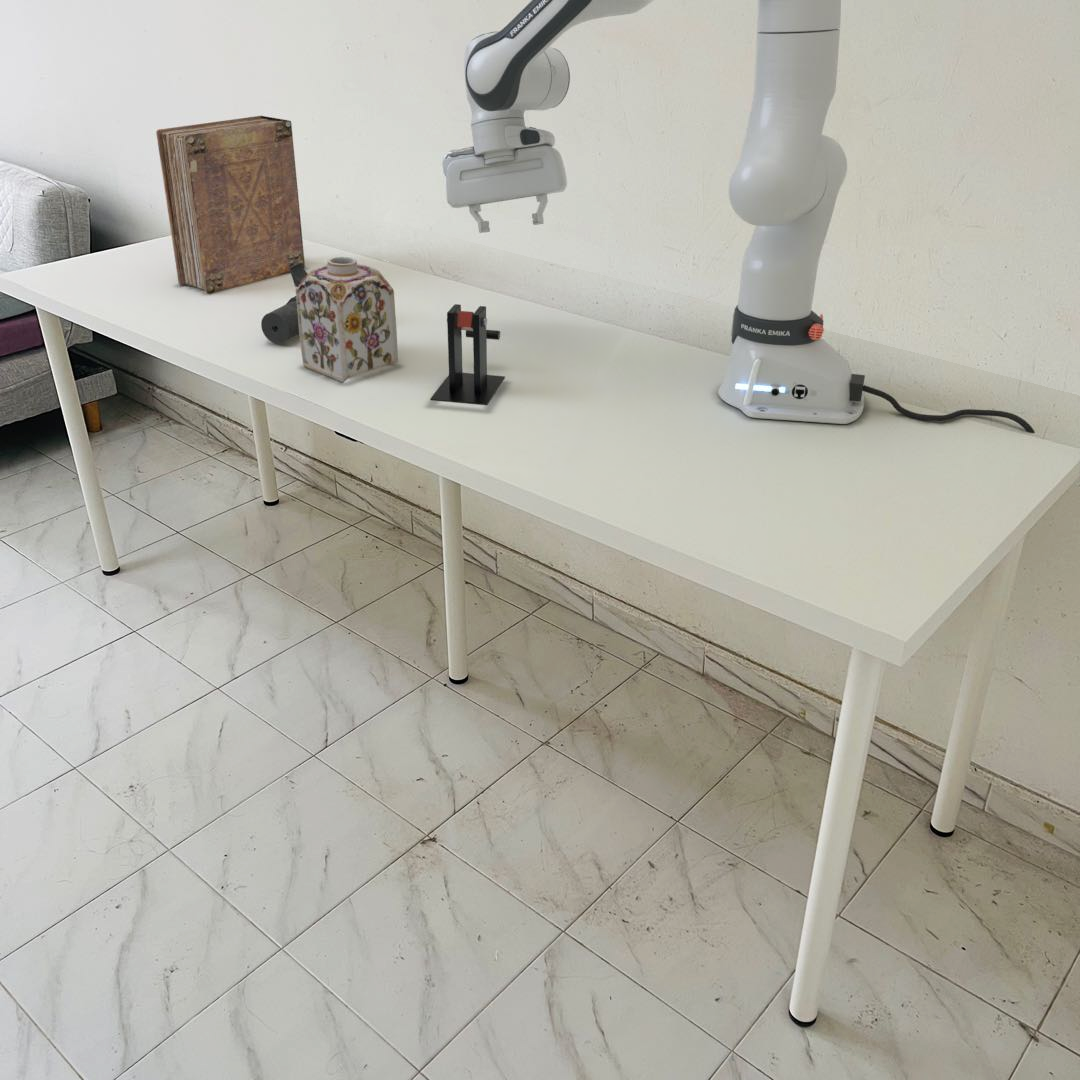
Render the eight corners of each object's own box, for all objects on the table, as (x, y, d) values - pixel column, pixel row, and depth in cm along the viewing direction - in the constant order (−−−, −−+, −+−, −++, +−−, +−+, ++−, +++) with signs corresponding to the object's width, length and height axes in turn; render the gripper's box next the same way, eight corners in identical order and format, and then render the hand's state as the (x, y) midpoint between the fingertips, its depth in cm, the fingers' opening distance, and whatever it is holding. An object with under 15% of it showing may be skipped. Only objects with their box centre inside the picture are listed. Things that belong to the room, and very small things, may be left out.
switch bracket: (451, 378, 178) (448, 295, 172) (504, 383, 177) (504, 300, 170) (430, 406, 168) (426, 319, 161) (486, 411, 167) (485, 324, 160)
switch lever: (466, 340, 179) (468, 326, 179) (499, 343, 178) (501, 328, 178) (446, 325, 166) (448, 309, 166) (481, 328, 165) (483, 312, 165)
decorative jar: (300, 367, 182) (289, 259, 173) (355, 350, 190) (348, 246, 181) (345, 385, 175) (336, 274, 166) (401, 367, 183) (395, 260, 174)
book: (205, 294, 217) (183, 135, 202) (178, 285, 222) (154, 130, 207) (305, 268, 234) (291, 119, 219) (278, 260, 239) (262, 115, 224)
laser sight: (253, 341, 193) (246, 286, 188) (321, 306, 211) (316, 254, 206) (300, 349, 190) (295, 293, 185) (365, 312, 208) (361, 260, 203)
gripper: (434, 150, 179) (447, 236, 182) (554, 129, 174) (565, 219, 177) (446, 153, 185) (458, 237, 188) (563, 133, 180) (573, 220, 183)
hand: (511, 228), depth 183 cm, fingers open, 8 cm apart
